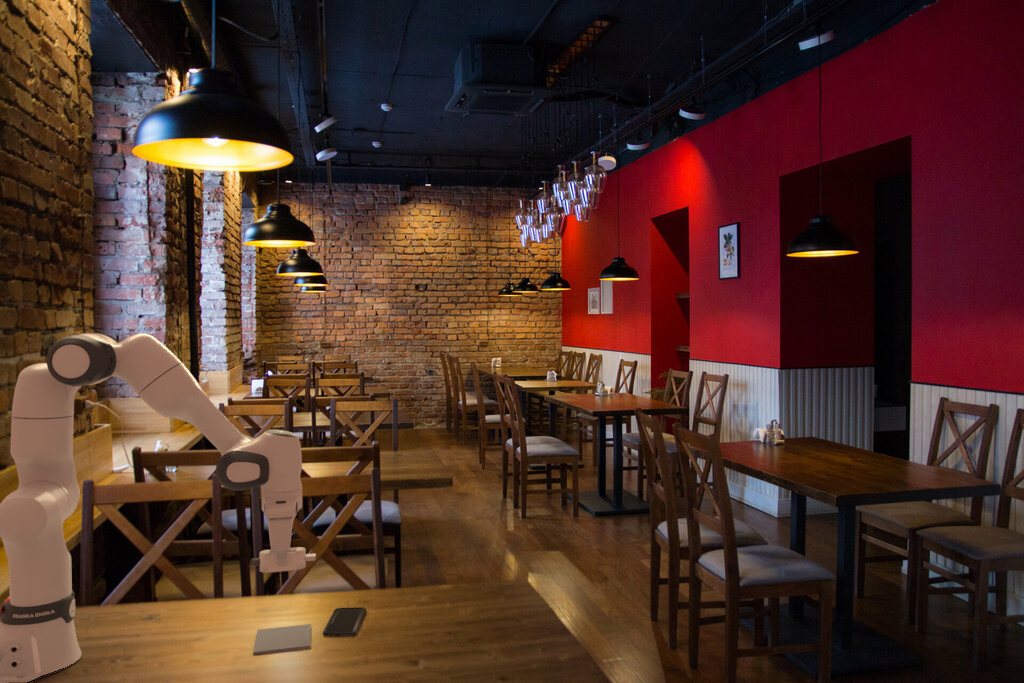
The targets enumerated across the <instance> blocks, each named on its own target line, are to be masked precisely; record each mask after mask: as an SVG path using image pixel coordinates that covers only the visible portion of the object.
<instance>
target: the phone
mask: <svg viewBox="0 0 1024 683" xmlns="http://www.w3.org/2000/svg"><path fill="white" fill-rule="evenodd" d="M366 613H367V608H366V607H363V606H362V607H358V606H357V607H337V608H335V609H334V611H333V612H332V614H331V616H330V618H329V619H328V622H327V623H326V625H325V627H324V628H323V631H322V635H325V636H324V637H326V636H331V637H337V636H339V637H354V636H357V635H358V632H359V630H360V628H361V624H362V623H361V622H363V620H364V618H365V616H366ZM358 629H359V630H358ZM353 635H354V636H353Z"/></svg>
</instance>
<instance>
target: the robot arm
mask: <svg viewBox="0 0 1024 683" xmlns="http://www.w3.org/2000/svg"><path fill="white" fill-rule="evenodd" d="M114 377H115V378H119V379H121V380H123V381H125V383H126V384H127V385H128V386H130V387H131V388H132V389H133V391H134V392H135V393H136V394H137V395H138V396H139V398H140V399H141V400H142V401H143V402H144V403H145V404H146V405H147V406H149V408H151V409H152V410H154V411H155V412H156V413H158V414H159V415H160V416H162V417H165V418H171V419H176V420H179V421H183V422H185V423H188V424H190V425H191V426H193V427H195V428H196V429H197V430H198V431H199V432H200V433H201V434H202V435H203V436H204V437H205V438H206V439H207V440H208V441H209V442H210V443H211V444H212V445H213V446H214V447H215V448H216V449H217V450H218V452H219V453H220V454H221V457H220V458H219V459H218V460H217V463H216V465H215V466H216V467H215V476H216V478H217V481H218V482H219V484H220V485H221V486H222V487H224V488H225V489H227V490H229V491H235V492H236V491H237V492H238V491H244V490H249V489H254V488H257V487H261V488H260V489H261V511H262V512H263V514H264V518H265V519H266V520H267V526H268V535H269V546H270V549H271V551H272V553H273V554H277V558H278V566H279V567H280V566H285V565H286V553H288V552H289V549H290V548H291V540H292V534H293V533H292V531H293V525H294V519H295V518H296V516H297V514H298V512H299V511H300V510H301V509H302V508H303V484H302V480H301V474H302V470H303V459H302V458H303V455H302V454H303V453H302V446H301V441H300V438H299V437H298V435H297V434H295V433H294V432H291V431H290V430H283V429H268V430H265V431H264V432H263V433H262V434H259V436H257V437H256V438H253V437H251V436H248V435H246V434H245V433H243V432H242V431H241V430H240V429H239V428H237V427H236V426H235V425H234V423H233V422H232V421H231V420H230V419H229V418H228V417H227V416H226V415H225V414H224V413H223V412H222V410H220V409H219V408H218V407H217V406H216V405H215V403H214V402H212V400H211V399H210V398H209V395H207V393H206V392H205V390H203V387H202V386H201V385H200V383H199V382H198V381H197V379H196V377H194V375H193V374H192V373H191V371H190V370H189V369H188V368H187V366H185V364H184V363H183V361H181V360H180V358H179V357H178V356H177V355H175V354H174V353H173V352H172V351H171V350H170V349H169V348H168V347H167V346H166V345H164V344H163V343H162V342H160V340H158V339H157V338H155V336H153V335H150V334H148V333H135V334H133V335H130V336H129V337H126V338H124V339H123V340H121V341H119V340H117V338H115V337H113V336H112V335H109V334H105V333H100V332H98V333H96V332H83V333H82V332H81V333H79V334H71V335H67V336H65V337H62V338H61V339H59V340H57V342H55V343H54V344H53V345H52V346H51V348H50V349H49V351H48V352H47V357H46V362H44V363H43V362H40V363H34V364H31V365H29V366H26V367H25V368H24V369H22V370H21V371H20V372H19V375H18V377H17V379H16V384H15V388H14V393H13V398H12V408H11V424H10V426H11V427H10V428H11V429H10V452H9V453H10V455H11V458H12V459H13V461H14V463H15V466H16V472H17V478H18V487H17V489H16V490H14V491H12V492H10V493H9V494H8V495H6V496H5V497H4V499H3V500H2V501H1V502H0V538H1V541H2V544H3V548H4V552H5V554H6V555H5V556H6V559H7V564H8V576H9V578H8V579H9V580H8V581H9V582H8V583H9V585H8V586H9V596H8V597H7V598H6V599H5V600H4V601H3V604H1V605H0V683H6V682H7V683H9V682H28V681H31V680H33V679H36V678H38V677H40V676H42V675H45V674H48V673H51V672H54V671H57V670H59V669H62V668H64V669H66V668H68V667H70V666H72V665H73V664H75V663H76V662H77V661H78V660H80V658H81V657H82V654H83V653H82V650H81V648H80V644H79V642H78V641H79V640H78V638H77V633H76V628H75V622H74V618H75V615H76V614H75V613H76V598H75V592H74V590H73V588H72V587H73V583H72V582H73V581H72V577H73V576H72V555H71V553H70V552H69V551H68V548H67V544H66V540H65V536H64V530H63V529H64V528H63V527H64V522H65V521H66V520H67V519H68V518H70V517H71V516H72V515H73V514H74V513H75V511H76V509H77V507H78V505H79V502H80V499H81V490H80V487H79V484H78V480H77V478H78V477H77V471H76V466H75V459H74V424H75V423H74V422H75V421H74V420H75V419H74V418H75V398H76V395H77V392H78V390H80V389H81V387H84V386H92V385H93V386H94V385H97V384H101V383H102V382H105V381H108V380H110V379H112V378H114ZM71 664H72V665H71ZM69 665H70V666H69ZM67 666H68V667H67ZM65 667H66V668H65ZM62 670H63V669H62ZM59 671H60V670H59ZM57 672H58V671H57ZM54 673H55V672H54ZM51 674H52V673H51ZM48 675H49V674H48ZM45 676H46V675H45Z"/></svg>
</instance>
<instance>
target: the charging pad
mask: <svg viewBox="0 0 1024 683" xmlns="http://www.w3.org/2000/svg"><path fill="white" fill-rule="evenodd" d="M311 627H312V626H311V623H309V624H308V623H307V624H306V623H305V624H298V625H288V626H280V627H279V626H278V627H272V628H271V627H270V628H269V627H268V628H261V629H257V630H256V637H255V640H254V645H253V646H254V647H253V652H252V653H253V654H252V655H253V656H254V655H255V656H256V655H263V654H272V653H281V652H291V651H298V650H308V649H311V637H312V636H311V634H312V632H311V630H312V629H311Z"/></svg>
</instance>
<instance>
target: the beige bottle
mask: <svg viewBox="0 0 1024 683" xmlns="http://www.w3.org/2000/svg"><path fill="white" fill-rule="evenodd" d="M306 550H307V549H306V547H301V546H296V547H290V549H289V552H288V553H286V565H285V566H280V567H279V566H278V558H277V554H273V553H272V551H271V548H270V549H263V550H261V551H259V557H258V558H256V557H255V558H251V559H250V567H257V566H259V572H261V573H263V574H265V573H266V574H267V573H278V572H280V573H281V572H289V571H300V570H303V569H305V568H306V567H307V566H306V565H307V564H306V562H312V561H313V562H314V561H316V559H317V558H316V556H317V554H316V553H306V552H307V551H306Z"/></svg>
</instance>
